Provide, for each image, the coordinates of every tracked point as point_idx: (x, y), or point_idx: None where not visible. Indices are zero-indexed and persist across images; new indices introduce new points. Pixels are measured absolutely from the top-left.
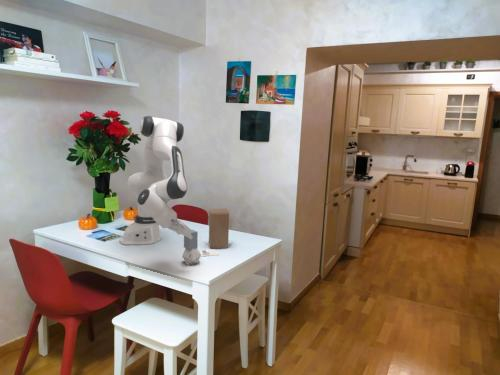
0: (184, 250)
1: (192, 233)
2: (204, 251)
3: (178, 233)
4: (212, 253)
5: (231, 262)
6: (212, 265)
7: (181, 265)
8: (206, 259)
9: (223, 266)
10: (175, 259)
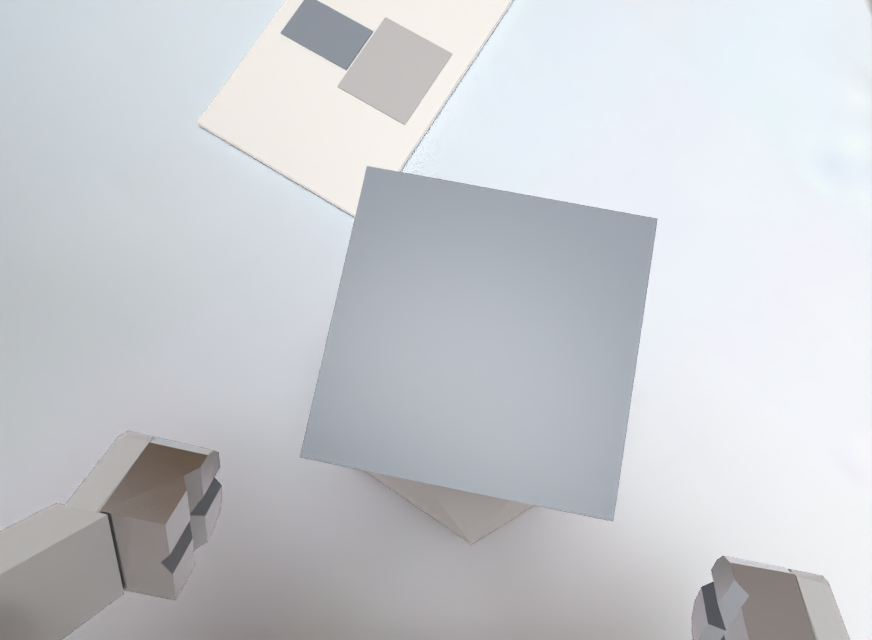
0: None
1: (624, 400)
2: (325, 28)
3: (192, 565)
4: (444, 11)
5: (807, 65)
6: (721, 281)
7: (440, 547)
8: (521, 189)
9: (837, 217)
10: (226, 452)
